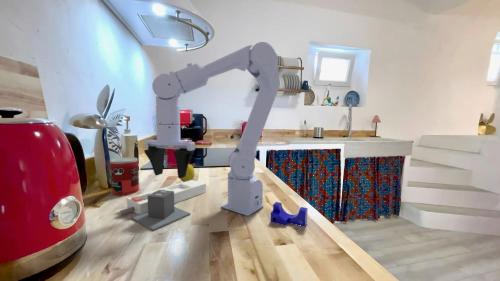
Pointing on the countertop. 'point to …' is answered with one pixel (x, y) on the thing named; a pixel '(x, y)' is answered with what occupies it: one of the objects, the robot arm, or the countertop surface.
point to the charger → (160, 204)
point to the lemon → (188, 174)
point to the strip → (181, 190)
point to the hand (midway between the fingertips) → (170, 175)
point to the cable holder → (288, 215)
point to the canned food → (124, 175)
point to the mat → (158, 223)
